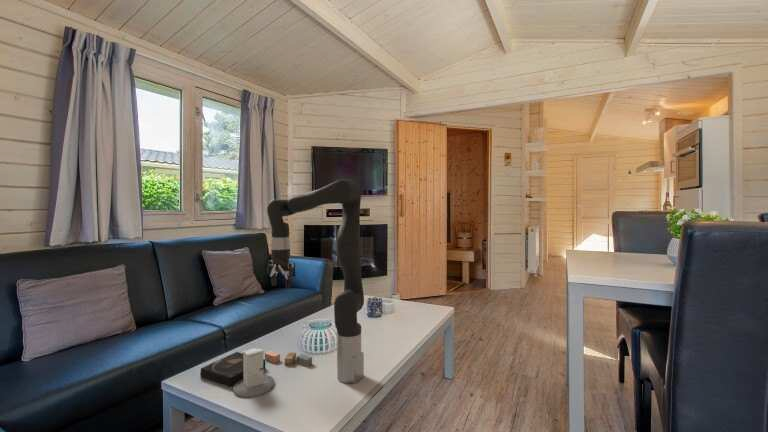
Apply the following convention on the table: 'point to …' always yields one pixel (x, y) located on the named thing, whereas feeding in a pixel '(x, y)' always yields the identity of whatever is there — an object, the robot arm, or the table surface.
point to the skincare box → (253, 367)
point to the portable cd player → (226, 370)
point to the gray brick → (304, 360)
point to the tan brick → (290, 358)
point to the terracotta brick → (272, 356)
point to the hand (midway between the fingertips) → (281, 286)
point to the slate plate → (254, 391)
